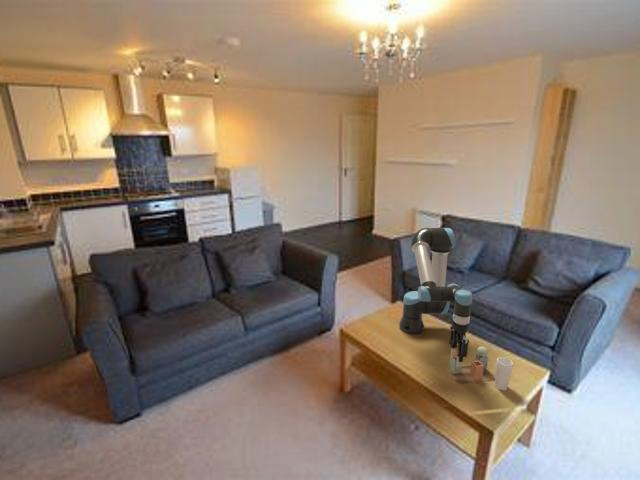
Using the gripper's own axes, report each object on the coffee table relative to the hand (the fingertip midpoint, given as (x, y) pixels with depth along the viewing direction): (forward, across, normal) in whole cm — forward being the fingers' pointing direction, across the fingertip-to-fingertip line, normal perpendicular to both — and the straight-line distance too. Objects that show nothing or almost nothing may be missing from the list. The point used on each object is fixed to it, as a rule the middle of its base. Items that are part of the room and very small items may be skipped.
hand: (456, 362), depth 169 cm
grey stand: (+5, 0, +14) cm, 14 cm away
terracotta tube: (+5, +6, +8) cm, 11 cm away
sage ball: (-3, 0, +14) cm, 14 cm away
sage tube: (+5, 0, 0) cm, 5 cm away
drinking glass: (+6, +14, +16) cm, 22 cm away
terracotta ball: (-3, 0, 0) cm, 3 cm away
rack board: (+6, +3, +6) cm, 10 cm away
